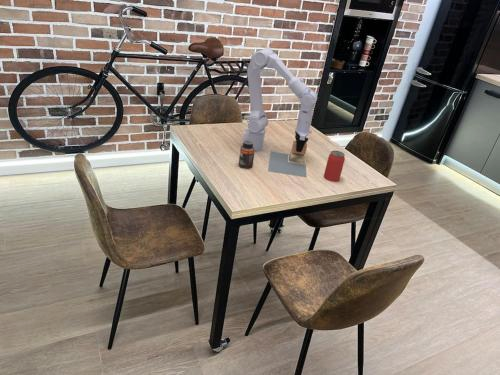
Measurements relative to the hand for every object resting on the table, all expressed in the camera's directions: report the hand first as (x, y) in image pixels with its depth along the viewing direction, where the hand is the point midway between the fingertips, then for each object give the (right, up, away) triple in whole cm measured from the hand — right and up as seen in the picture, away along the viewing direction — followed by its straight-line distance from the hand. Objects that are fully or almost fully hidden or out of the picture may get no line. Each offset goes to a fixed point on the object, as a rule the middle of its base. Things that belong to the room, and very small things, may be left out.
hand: (298, 149), depth 166 cm
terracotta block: (0, -1, +1) cm, 1 cm away
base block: (-1, -4, +2) cm, 5 cm away
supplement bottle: (-23, -8, -9) cm, 26 cm away
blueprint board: (-5, -7, -2) cm, 9 cm away
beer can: (+12, -14, -9) cm, 20 cm away
